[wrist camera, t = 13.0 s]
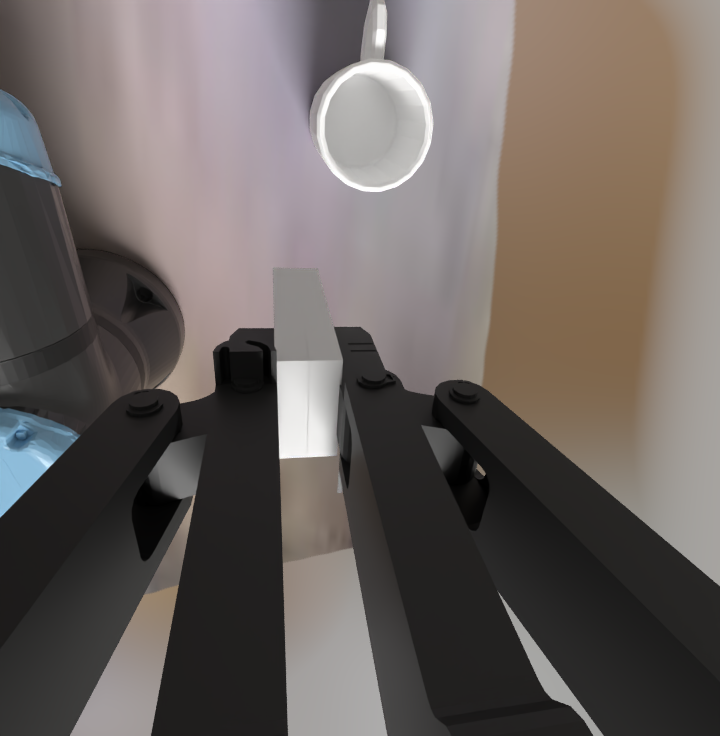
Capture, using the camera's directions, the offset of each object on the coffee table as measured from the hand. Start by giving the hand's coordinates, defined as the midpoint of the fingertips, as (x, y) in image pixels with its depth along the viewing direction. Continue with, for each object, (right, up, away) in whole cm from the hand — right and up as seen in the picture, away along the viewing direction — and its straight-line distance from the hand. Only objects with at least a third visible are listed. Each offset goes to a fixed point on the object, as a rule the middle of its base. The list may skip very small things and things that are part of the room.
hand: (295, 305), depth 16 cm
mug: (+2, +21, +23) cm, 31 cm away
